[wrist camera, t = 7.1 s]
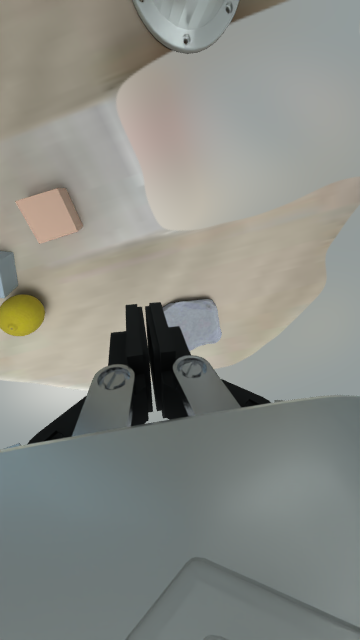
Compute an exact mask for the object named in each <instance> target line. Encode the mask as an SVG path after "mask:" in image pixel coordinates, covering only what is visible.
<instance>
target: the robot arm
mask: <svg viewBox="0 0 360 640" xmlns="http://www.w3.org/2000/svg"><path fill="white" fill-rule="evenodd" d="M143 1H144V2H140V1H139V0H133V3H134V5H135V7H136V9H137V11H138V14H139V16H140V18H141V19H142V21H143V22H144V24H145V25H146V27H147V29H148V30H149V31H150V32H151V33H152V35H153V36H154V37H155V38H156V39H157V40H158V41H159V42H161V43H162V44H163V45H165V46H166V47H167V48H170V49H172V50H174V51H176V52H180V53H187V54H189V53H197V52H200V51H202V50H205V49H207V48H208V47H210V46H211V45H212V44H213V43H215V42H216V41H217V40H218V39H219V38H220V36H221V35H222V34H223V33H224V31H225V30H226V28H227V27H228V25H229V24H230V22H231V20H232V18H233V16H234V14H235V12H236V9H237V6H238V3H239V0H143ZM226 10H227V11H228V13H227V12H226ZM183 41H186V42H187V45H185V44H184V42H183ZM145 310H146V325H147V338H146V331H145V325H144V318H143V311H142V307H137V304H133V305H126V331H124V332H114V333H111V338H110V350H109V363H108V366H107V367H104V368H103V369H101V370H99V371H98V372H97V373H96V374H95V376H94V378H93V380H92V383H91V386H90V388H89V391H88V394H87V396H86V397H84V398H83V399H82V400H80V401H79V402H78V403H77V404H75V405H74V406H72V407H71V408H70V409H69V410H67V411H66V412H65V413H63V414H62V415H61V416H59V417H58V418H57V419H56V420H54V421H53V422H52V423H50V424H49V425H48V426H46V427H45V428H44V429H43V430H41V431H40V432H39V433H38V434H36V435H35V436H34V437H33V438H32V439H31V440H30V441H29V443H28V444H27V445H23V446H21V444H20V443H19V444H16V445H13V446H10V447H7V448H4V449H2V450H0V640H360V396H349V395H331V396H318V397H310V398H303V399H294V400H288V401H282V400H281V401H280V400H275V402H274V403H271V402H270V401H269V400H267V399H265V398H263V397H261V396H259V395H256V394H254V393H252V392H250V391H248V390H245V389H243V388H240V387H238V386H236V385H234V384H231V383H229V382H227V381H225V380H222V379H220V377H219V376H218V375H217V373H216V372H215V370H214V369H213V368H212V366H211V365H210V363H209V362H208V361H207V360H205V359H204V358H202V357H199V356H193V355H191V354H190V352H189V349H188V346H187V344H186V341H185V339H184V336H183V334H182V331H181V328H180V327H179V326H175V327H168V324H167V321H166V318H165V315H164V311H163V308H162V305H161V302H158V303H149V306H145ZM147 339H148V345H147ZM149 361H150V362H149ZM150 368H151V375H152V382H153V389H154V395H155V402H156V409H157V411H161V410H162V416H163V418H168V419H170V420H166V421H159V422H153V423H148V424H145V423H146V421H148V412H153V406H152V393H151V377H150Z"/></svg>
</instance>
